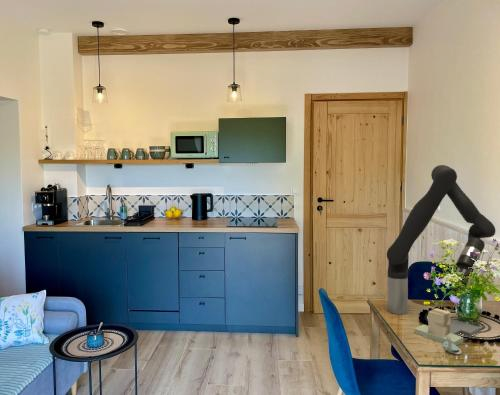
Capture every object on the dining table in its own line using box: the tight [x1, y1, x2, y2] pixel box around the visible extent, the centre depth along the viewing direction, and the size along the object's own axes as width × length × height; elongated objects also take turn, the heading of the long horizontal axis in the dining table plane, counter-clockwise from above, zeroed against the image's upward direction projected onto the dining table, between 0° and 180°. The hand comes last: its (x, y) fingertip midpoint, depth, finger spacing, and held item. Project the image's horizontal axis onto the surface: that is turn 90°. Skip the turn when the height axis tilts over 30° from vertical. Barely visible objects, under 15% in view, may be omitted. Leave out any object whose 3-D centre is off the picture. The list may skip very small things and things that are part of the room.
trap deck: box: [414, 318, 482, 347], centre depth 170 cm, size 22×17×2 cm
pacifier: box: [442, 335, 463, 355], centre depth 153 cm, size 7×6×6 cm
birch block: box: [427, 307, 451, 338], centre depth 165 cm, size 6×6×9 cm
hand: (453, 291), depth 172 cm, fingers closed
